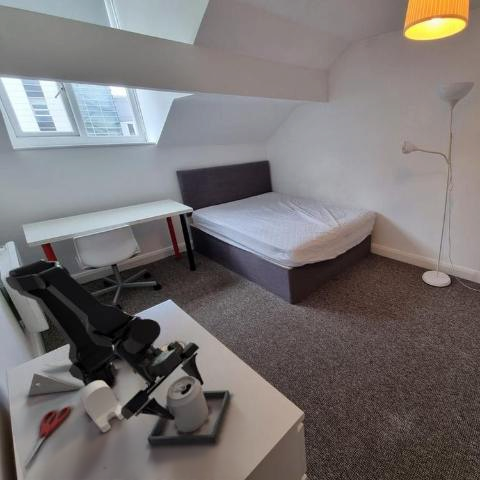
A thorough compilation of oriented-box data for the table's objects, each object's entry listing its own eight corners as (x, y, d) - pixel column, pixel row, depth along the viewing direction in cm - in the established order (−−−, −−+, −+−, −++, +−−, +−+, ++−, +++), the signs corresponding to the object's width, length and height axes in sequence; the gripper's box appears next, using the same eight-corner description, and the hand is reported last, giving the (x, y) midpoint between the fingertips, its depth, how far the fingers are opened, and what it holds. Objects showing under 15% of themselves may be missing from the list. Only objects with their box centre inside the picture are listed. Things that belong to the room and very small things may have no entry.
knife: (129, 360, 86) (136, 348, 90) (127, 354, 85) (134, 343, 89) (38, 375, 82) (50, 362, 86) (34, 369, 81) (47, 356, 85)
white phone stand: (109, 396, 74) (96, 370, 70) (127, 414, 69) (113, 388, 65) (87, 412, 70) (71, 386, 66) (103, 433, 65) (87, 406, 61)
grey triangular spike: (93, 372, 82) (48, 367, 81) (81, 377, 77) (33, 373, 76) (88, 392, 81) (43, 388, 80) (76, 399, 76) (27, 395, 75)
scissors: (46, 411, 70) (48, 414, 70) (7, 471, 58) (10, 473, 58) (71, 405, 71) (72, 407, 72) (38, 461, 59) (40, 464, 60)
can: (197, 437, 64) (185, 404, 59) (170, 431, 65) (156, 398, 60) (214, 407, 70) (205, 375, 66) (189, 402, 72) (178, 370, 67)
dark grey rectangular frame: (150, 445, 62) (147, 439, 61) (174, 398, 73) (172, 391, 72) (215, 443, 62) (213, 437, 61) (230, 396, 73) (228, 390, 72)
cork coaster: (156, 365, 84) (155, 364, 83) (159, 347, 90) (158, 346, 90) (184, 356, 86) (183, 355, 86) (185, 340, 93) (184, 338, 93)
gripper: (110, 378, 52) (169, 433, 53) (184, 316, 68) (228, 359, 69) (98, 394, 57) (151, 443, 58) (169, 334, 73) (210, 373, 74)
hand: (189, 400), depth 65 cm, fingers open, 9 cm apart
